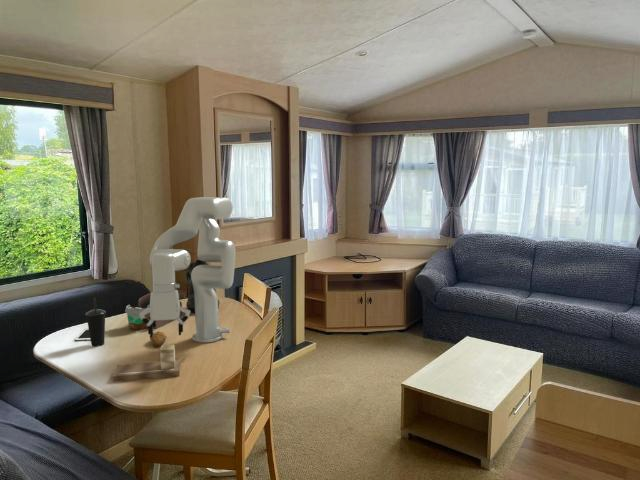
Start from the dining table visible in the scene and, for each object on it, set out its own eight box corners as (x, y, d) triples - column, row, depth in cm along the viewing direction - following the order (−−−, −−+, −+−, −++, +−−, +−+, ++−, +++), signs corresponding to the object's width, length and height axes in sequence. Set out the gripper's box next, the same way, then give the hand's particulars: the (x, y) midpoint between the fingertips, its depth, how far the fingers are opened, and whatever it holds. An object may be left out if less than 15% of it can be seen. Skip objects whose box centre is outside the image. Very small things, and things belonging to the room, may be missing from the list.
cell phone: (73, 342, 209) (73, 340, 209) (85, 330, 224) (85, 328, 224) (93, 341, 210) (92, 339, 210) (103, 329, 225) (103, 327, 225)
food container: (120, 329, 224) (118, 307, 223) (130, 325, 230) (128, 304, 228) (141, 333, 220) (140, 311, 218) (151, 328, 225) (150, 307, 224)
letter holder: (138, 326, 228) (136, 297, 226) (166, 314, 247) (164, 286, 244) (156, 329, 225) (154, 299, 222) (183, 316, 243) (181, 288, 241)
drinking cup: (95, 349, 201) (91, 301, 197) (83, 345, 205) (80, 298, 201) (112, 343, 207) (108, 296, 204) (100, 339, 211) (97, 293, 208)
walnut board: (180, 364, 186) (180, 359, 185) (179, 375, 176) (179, 370, 176) (117, 370, 181) (117, 364, 180) (112, 381, 171) (112, 376, 171)
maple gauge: (175, 362, 182) (174, 344, 181) (174, 367, 178) (173, 349, 177) (162, 363, 181) (161, 345, 180) (161, 369, 177) (160, 350, 176)
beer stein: (211, 315, 245) (209, 265, 241) (175, 312, 250) (172, 263, 246) (225, 305, 261) (223, 258, 257) (191, 303, 266) (189, 257, 262)
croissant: (151, 338, 214) (150, 326, 213) (167, 336, 216) (167, 325, 215) (148, 349, 201) (148, 337, 200) (166, 347, 203) (166, 336, 202)
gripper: (190, 284, 180) (191, 330, 183) (139, 286, 176) (141, 333, 179) (189, 289, 173) (190, 336, 175) (136, 291, 169) (138, 340, 171)
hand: (165, 335), depth 177 cm, fingers open, 9 cm apart
